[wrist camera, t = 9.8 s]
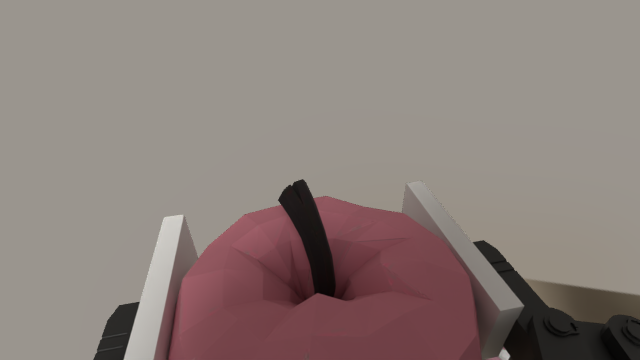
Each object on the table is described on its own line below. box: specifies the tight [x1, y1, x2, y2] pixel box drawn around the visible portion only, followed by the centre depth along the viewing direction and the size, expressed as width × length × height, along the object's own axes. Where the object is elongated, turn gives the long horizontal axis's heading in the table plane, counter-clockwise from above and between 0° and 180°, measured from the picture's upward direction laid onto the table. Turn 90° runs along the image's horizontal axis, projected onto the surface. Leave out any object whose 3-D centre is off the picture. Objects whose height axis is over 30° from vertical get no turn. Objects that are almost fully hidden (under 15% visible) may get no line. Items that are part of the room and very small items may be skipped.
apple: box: [168, 179, 482, 360], centre depth 12 cm, size 10×9×10 cm
